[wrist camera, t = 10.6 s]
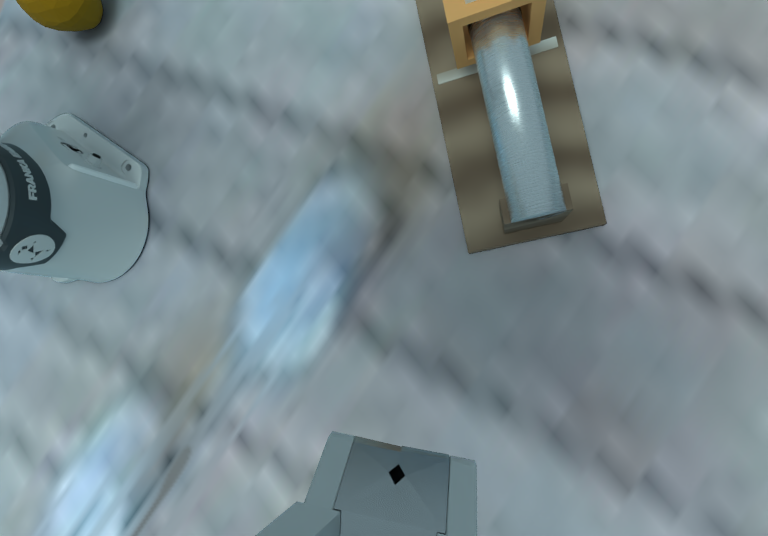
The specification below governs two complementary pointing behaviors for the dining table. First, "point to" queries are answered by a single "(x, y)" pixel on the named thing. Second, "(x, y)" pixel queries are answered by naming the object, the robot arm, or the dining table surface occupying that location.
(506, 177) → the pipe
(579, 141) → the pipe stand
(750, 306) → the dining table surface
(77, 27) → the apple
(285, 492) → the dining table surface
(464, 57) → the orange pipe clamp
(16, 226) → the robot arm
